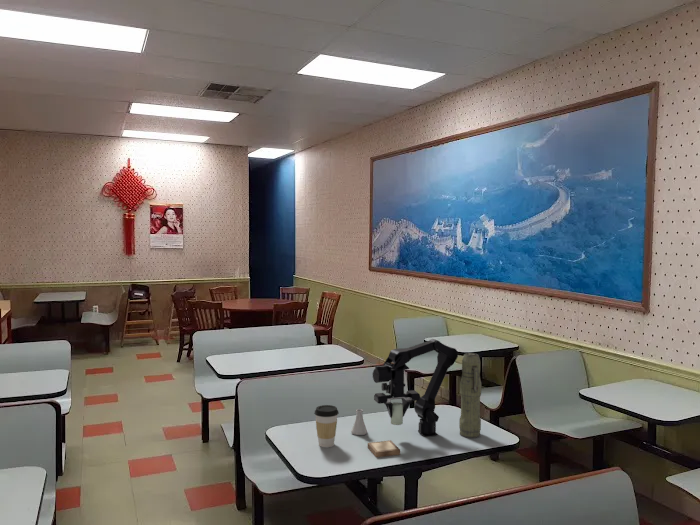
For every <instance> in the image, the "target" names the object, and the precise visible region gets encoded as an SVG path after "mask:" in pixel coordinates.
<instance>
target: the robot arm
mask: <svg viewBox="0 0 700 525" xmlns="http://www.w3.org/2000/svg"><path fill="white" fill-rule="evenodd" d="M433 351H434V352H436V353H437V356H436V357H437V359H436V360H437V363H436V364H437V365H436V367H435V369H434V371H433V374H432V376H431V377H430V380H429V382H428V385H427V388H426V390H425V392H424V394H422V396H421V395H420V392H418V391H416V390H407V391H406V393H405V387H406V383H405V370H409V369H410V367H409V366H408V365H407V363H409V362H410V361H411V360H412V359H413V358H416V357H419V356H422V355H425V354H427V353H430V352H433ZM458 356H459V353H458V350H457V349H456V348H455V347H451V346H449V345H446V344H444V343H442V342H441V341H439V340H437V339H433V338H430V339H429V340H427V341H424V342H421V343H418V344H415V345H413V346H410V347H405V348H394V349H391V350H389V353H388V356H387V358H386V359H385V360H384V362H383V364H382V365H375V366H374V370H373V372H372V380H373V382H374V383H376V384H378V383H381V391H382V392H378V393H374V396H373V401H375V402H376V403H377V404H384V405H385V407H386V409H387V412H388V416H389V418H390V419H391V418H392V403H393V402H391V401H392V400H401V403H402V404H403V418H404V416H405V415H406V413H407V410H408V409H409V407H410V405H411V404H413V403H414V401H415V403H414V409H413V410H414V412H415V414H417V418H419V422H418V430H417V432H418V433H419V434H420V435H422V437H431V436H438V433H437V432H436V431H437V427H436V426H437V422H438V421H439V418H440V416H439V415H438V414H437V413H436V412H435V409H436V398H437V395H438V393H439V390H440V388H441V386H442V384H443V382H444V379H445V377H446V375H447V372H448V370H449V369H450V368H451V367H452V366H453V365H455V363H456V360H457V359H458ZM387 382H388V383H387ZM384 392H385V393H386V394H385V393H384Z"/></svg>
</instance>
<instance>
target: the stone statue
mask: <svg viewBox="0 0 700 525" xmlns="http://www.w3.org/2000/svg"><path fill="white" fill-rule="evenodd" d="M461 372H462V374H461V379H460V382H459V394H460V402H461V403H460V417H459V423H458V424H459V435H460V436H461V437H464V438H467V439H476V438H477V439H478V438H480V437H481V428H482V418H481V417H480V416H481V414H480V413H481V410H480V408H481V395H482V381H481V359H480V355H479V354H477V353H476V352H466V353H464V354H463V356H462V360H461Z"/></svg>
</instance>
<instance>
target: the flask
mask: <svg viewBox="0 0 700 525" xmlns="http://www.w3.org/2000/svg"><path fill="white" fill-rule="evenodd" d="M355 412H356V415H355V419H354V423H353V426H352V429H351V430H350V432H351V433H350V434H352V435H354V436H364V435H367V434H368V430H367V427H366V424H365V419H364V417H363V416H364V415H363V412H364V410H363V409H361V408H357V409H356V410H355Z"/></svg>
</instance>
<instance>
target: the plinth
mask: <svg viewBox="0 0 700 525" xmlns="http://www.w3.org/2000/svg"><path fill="white" fill-rule="evenodd" d="M367 449H368V450H369V451H370V452H371V454H372V455H373V456H374V458H382V457H389V456H400V455H401V449H400V448H399V447H398V446H397V445H396V444H395V443H394V442H393V441H392V440H391V439H390V440H383V441H382V440H381V441H374V442H373V441H372V442H367Z"/></svg>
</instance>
